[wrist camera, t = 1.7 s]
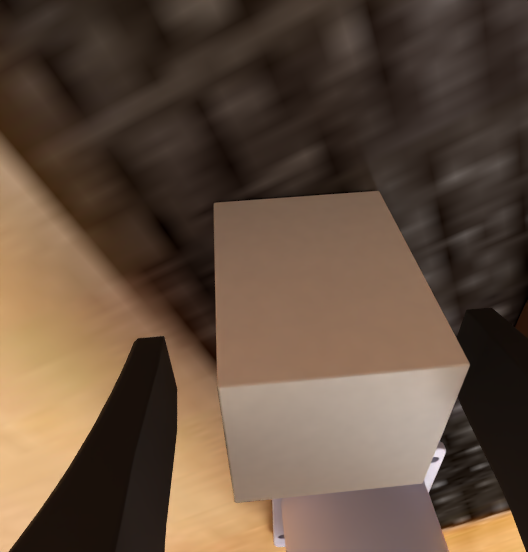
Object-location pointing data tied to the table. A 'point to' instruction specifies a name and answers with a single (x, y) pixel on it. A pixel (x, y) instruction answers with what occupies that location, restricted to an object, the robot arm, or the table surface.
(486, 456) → the robot arm
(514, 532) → the table surface
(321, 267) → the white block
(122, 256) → the table surface
